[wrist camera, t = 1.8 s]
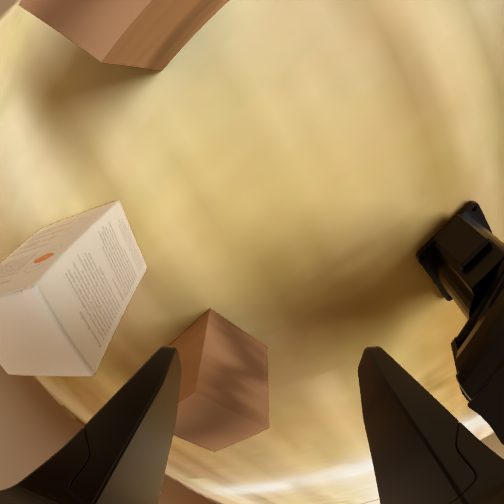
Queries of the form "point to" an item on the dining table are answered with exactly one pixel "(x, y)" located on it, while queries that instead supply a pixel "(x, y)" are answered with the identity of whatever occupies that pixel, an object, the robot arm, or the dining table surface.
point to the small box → (67, 293)
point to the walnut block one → (220, 384)
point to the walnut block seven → (127, 26)
